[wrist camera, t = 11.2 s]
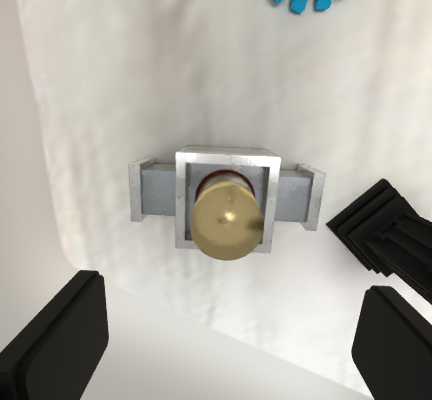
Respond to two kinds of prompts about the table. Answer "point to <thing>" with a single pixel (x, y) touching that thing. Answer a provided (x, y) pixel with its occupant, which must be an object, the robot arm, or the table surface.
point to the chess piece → (388, 236)
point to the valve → (217, 163)
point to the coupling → (226, 218)
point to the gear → (299, 4)
